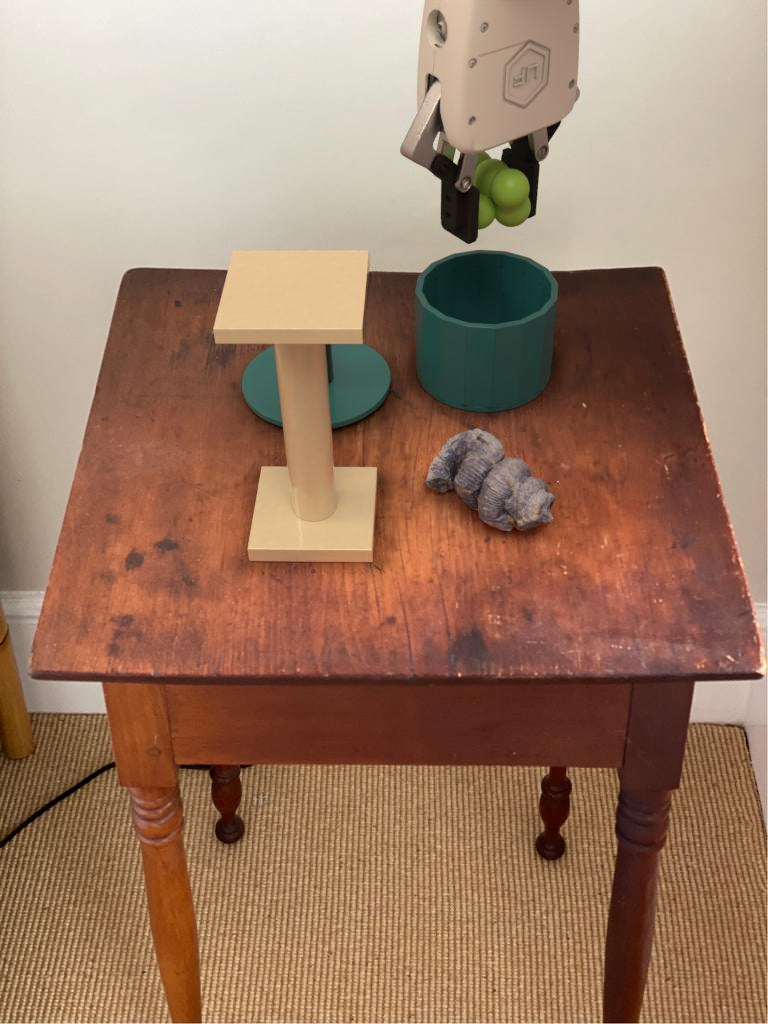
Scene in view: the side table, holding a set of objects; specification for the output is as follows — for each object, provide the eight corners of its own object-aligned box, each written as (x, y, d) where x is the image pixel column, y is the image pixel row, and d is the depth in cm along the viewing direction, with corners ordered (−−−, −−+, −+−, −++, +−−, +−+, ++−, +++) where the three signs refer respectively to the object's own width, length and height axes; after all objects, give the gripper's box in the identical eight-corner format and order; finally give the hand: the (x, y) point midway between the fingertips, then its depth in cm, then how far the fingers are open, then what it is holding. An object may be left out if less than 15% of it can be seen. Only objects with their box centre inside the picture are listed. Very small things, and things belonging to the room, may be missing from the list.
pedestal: (378, 479, 78) (369, 249, 66) (372, 563, 73) (362, 328, 60) (262, 478, 79) (232, 250, 66) (248, 561, 73) (212, 328, 60)
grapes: (543, 229, 78) (547, 168, 74) (492, 252, 76) (494, 190, 72) (484, 194, 81) (486, 135, 78) (434, 215, 79) (434, 155, 76)
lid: (421, 396, 85) (420, 321, 80) (297, 457, 80) (289, 382, 76) (334, 329, 91) (330, 257, 87) (215, 382, 87) (203, 308, 82)
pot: (577, 376, 86) (587, 292, 81) (475, 430, 82) (478, 345, 77) (489, 317, 92) (493, 235, 87) (390, 364, 88) (387, 281, 83)
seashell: (432, 489, 79) (545, 562, 74) (400, 467, 75) (518, 544, 70) (474, 425, 79) (589, 494, 74) (444, 399, 74) (566, 471, 70)
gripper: (428, -7, 60) (426, 288, 73) (651, -75, 67) (614, 205, 80) (345, -44, 64) (357, 240, 77) (563, -104, 71) (541, 165, 84)
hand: (488, 219), depth 78 cm, fingers closed on grapes, 4 cm apart
